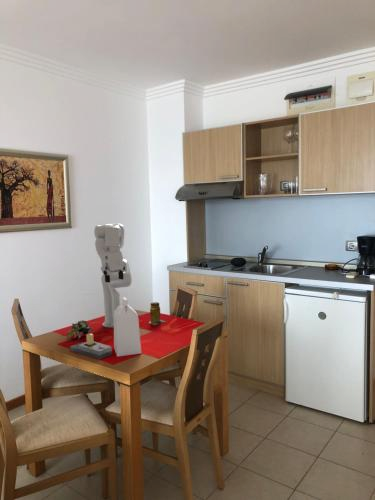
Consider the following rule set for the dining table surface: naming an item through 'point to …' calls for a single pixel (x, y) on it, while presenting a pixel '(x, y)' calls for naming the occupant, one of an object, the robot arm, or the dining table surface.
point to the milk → (126, 330)
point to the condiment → (155, 314)
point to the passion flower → (80, 329)
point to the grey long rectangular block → (92, 350)
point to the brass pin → (90, 340)
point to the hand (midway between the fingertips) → (114, 280)
